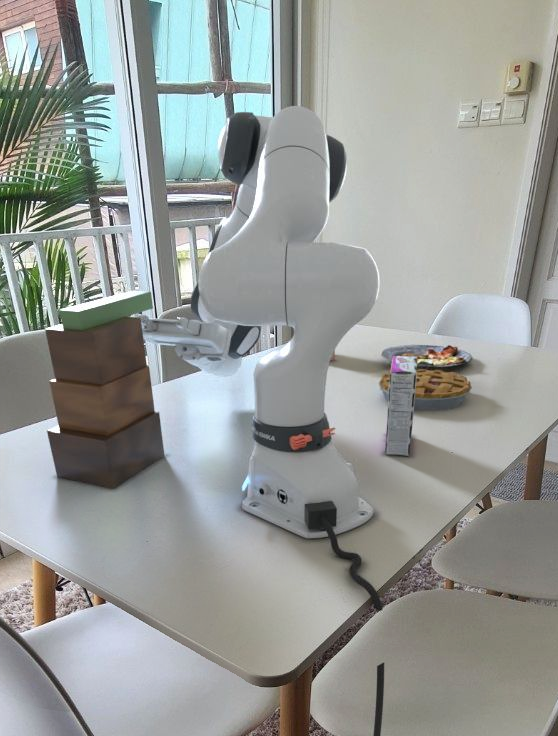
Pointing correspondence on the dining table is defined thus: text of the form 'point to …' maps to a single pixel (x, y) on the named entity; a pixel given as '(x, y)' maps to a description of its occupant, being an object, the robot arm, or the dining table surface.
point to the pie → (434, 389)
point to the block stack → (102, 403)
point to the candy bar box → (401, 405)
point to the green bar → (105, 310)
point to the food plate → (430, 355)
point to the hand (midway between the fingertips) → (159, 319)
